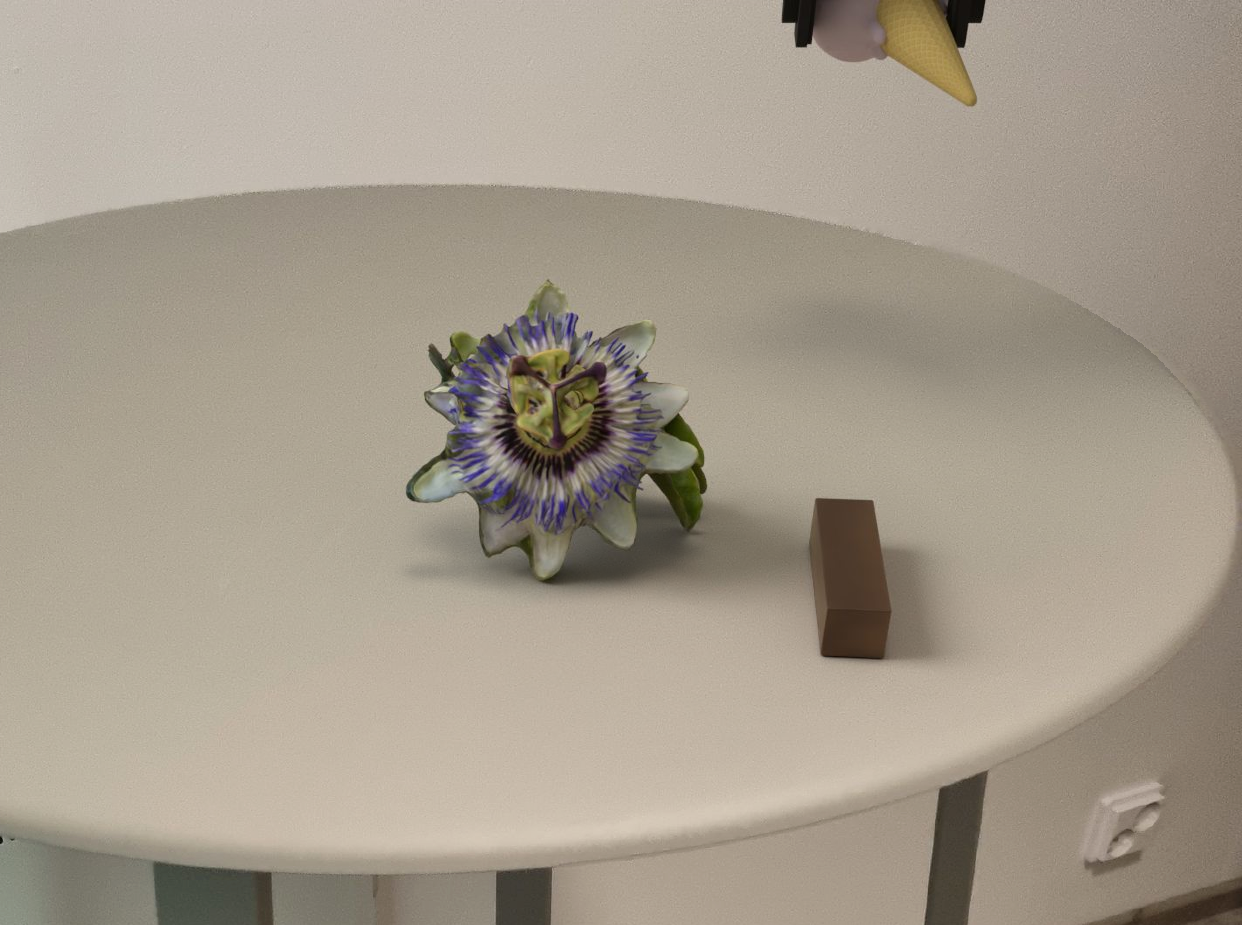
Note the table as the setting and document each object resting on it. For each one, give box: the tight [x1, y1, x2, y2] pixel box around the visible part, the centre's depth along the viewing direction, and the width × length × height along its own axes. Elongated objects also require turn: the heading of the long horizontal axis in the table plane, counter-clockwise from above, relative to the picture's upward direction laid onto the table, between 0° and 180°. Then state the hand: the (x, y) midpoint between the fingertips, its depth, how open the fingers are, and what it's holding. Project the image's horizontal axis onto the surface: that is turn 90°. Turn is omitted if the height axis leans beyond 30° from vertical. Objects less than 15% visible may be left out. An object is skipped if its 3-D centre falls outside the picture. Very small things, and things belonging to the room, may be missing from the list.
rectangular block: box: [808, 497, 892, 659], centre depth 76 cm, size 2×10×2 cm, turn 173°
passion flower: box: [405, 278, 708, 581], centre depth 79 cm, size 11×11×12 cm
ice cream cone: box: [812, 0, 978, 107], centre depth 88 cm, size 6×7×15 cm
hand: (878, 37), depth 88 cm, fingers closed on ice cream cone, 6 cm apart
